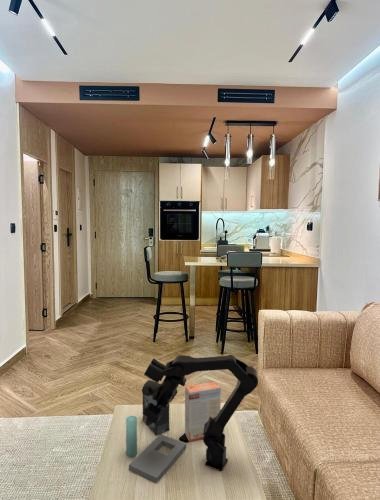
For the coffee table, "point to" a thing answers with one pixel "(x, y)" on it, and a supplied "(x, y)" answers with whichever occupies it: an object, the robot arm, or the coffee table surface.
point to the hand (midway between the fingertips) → (152, 417)
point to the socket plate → (157, 458)
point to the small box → (163, 422)
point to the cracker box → (200, 407)
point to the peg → (131, 436)
